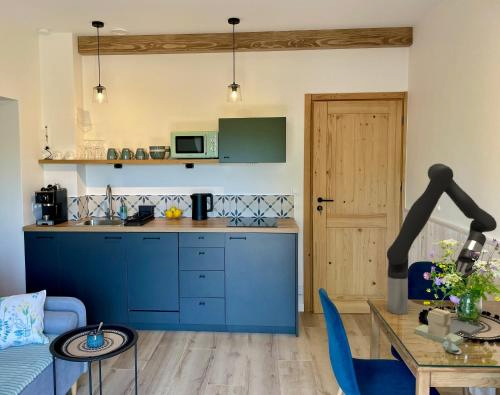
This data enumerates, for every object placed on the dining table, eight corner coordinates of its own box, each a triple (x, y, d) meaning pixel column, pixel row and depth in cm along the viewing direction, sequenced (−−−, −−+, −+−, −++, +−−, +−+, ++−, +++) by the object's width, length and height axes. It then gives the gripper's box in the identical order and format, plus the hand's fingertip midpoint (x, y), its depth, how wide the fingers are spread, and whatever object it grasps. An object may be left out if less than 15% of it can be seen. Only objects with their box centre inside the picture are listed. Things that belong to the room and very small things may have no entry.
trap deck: (441, 320, 184) (441, 315, 183) (480, 331, 170) (480, 327, 170) (414, 333, 170) (414, 328, 170) (454, 347, 157) (454, 342, 157)
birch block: (435, 329, 169) (436, 308, 169) (450, 333, 165) (450, 312, 164) (428, 332, 166) (428, 311, 165) (442, 337, 161) (442, 315, 160)
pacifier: (459, 348, 156) (442, 346, 158) (459, 332, 156) (443, 330, 158) (463, 356, 149) (445, 354, 151) (464, 340, 149) (446, 338, 150)
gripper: (452, 245, 183) (437, 276, 176) (483, 250, 172) (468, 283, 166) (458, 255, 186) (443, 286, 180) (488, 260, 175) (474, 293, 169)
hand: (455, 284), depth 173 cm, fingers closed
